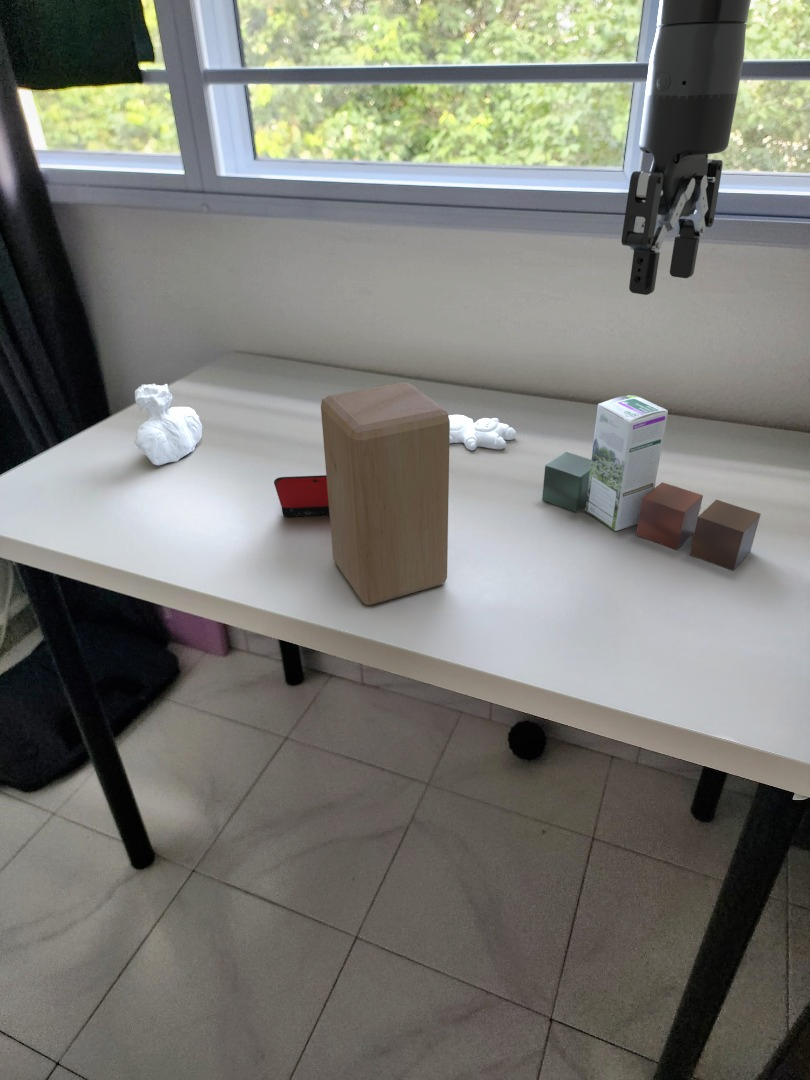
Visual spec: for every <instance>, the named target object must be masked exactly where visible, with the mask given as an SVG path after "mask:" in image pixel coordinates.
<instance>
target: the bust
mask: <svg viewBox="0 0 810 1080" xmlns="http://www.w3.org/2000/svg"><path fill="white" fill-rule="evenodd" d="M168 385H169V384H168V383H164V384H163V385H159V384H156V383H150V384H149V383H148V384H144V383H143V384H141V385H140V386H138V388H137V389H135V390H134V399H135V404H136V405H137V407H138V409H139V411H140V412H142V411H144V410H146V419H145V420H144V421H143V422H142V423H141V424H140V425H139V427H138V428H137V430H136V435H135V439H134V444H135V446H136V447H137V449H138V450H139V451H141V453H143V454H144V455H145V456H146V457H147V458H148V460H149V461H150V462H151V464H153V465H154V466H162V465H165V464H167V463H168V464H169V463H176V462H179V460H180V459H182V458H184V457H185V456H187V455H189V454H190V453H193V452H194V451H195V450H196V445H197V444H199V442H200V441H201V439H202V435H203V424H202V422H201V421H200V416H199V415H198V414H197V413H196V410H195V409H194V408H191V407H189V406H172V407H170V405H171V403H172V400H173V395H172V393H171V392H170V389H169V387H168Z"/></svg>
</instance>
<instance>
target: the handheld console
mask: <svg viewBox="0 0 810 1080" xmlns="http://www.w3.org/2000/svg"><path fill="white" fill-rule="evenodd" d="M273 484H274V485H273V486H274V487H275V492H276V495H277V496H278V501H279V503H280V507H281V513H282V515H283V517H285V518H295V517H313V516H326V515H330V514H329V501H328V489H327V477H326V474H325V475H324V474H322V475H301V476H298V475H297V476H296V475H295V476H280V477H276V478H275V479H274V481H273Z"/></svg>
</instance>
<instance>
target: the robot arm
mask: <svg viewBox="0 0 810 1080" xmlns="http://www.w3.org/2000/svg"><path fill="white" fill-rule="evenodd" d="M751 3H752V0H659V7H658V14H657V22H656V27H657V28H656V29H655V31H656V32H655V36H654V40H653V45H652V49H651V52H650V57H649V62H648V69H647V79H646V86H645V95H644V100H643V101H644V103H643V111H642V119H641V126H640V134H639V141H638V147H639V150H640V151H641V152H642V153H645V154H651V155H652V158H653V159H652V162H651V166H650V169H649V171H644V170H643V171H640V170H639V171H638V170H633V171H632V173H631V175H630V179H629V186H628V192H627V198H626V206H625V213H624V219H623V226H622V234H621V241H620V242H621V245H622V246H626V247H629V248H630V250H632V251H633V254H632V262H631V270H630V278H629V285H628V289H629V291H630V292H631V293H632V294H638V295H643V296H647V295H650V294H652V293H654V291H655V288H656V282H657V275H658V269H659V260H660V255H661V252H660V251H661V247H662V245H663V244H664V241H665V238H666V236H667V234H668V232H670V231H672V230H674V228H675V233H676V235H677V236H675V237H674V241H673V242H674V243H673V248H672V253H671V261H670V267H669V274H670V275H669V276H671V277H672V278H681V279H689V278H690V277H692V276H694V273H695V267H696V261H697V256H698V251H699V244H700V238H702V237H703V236H704V235H705V232H706V228H712V227H713V225H714V222H715V215H716V209H717V204H718V197H719V191H720V185H721V179H722V178H721V177H722V171H723V160H722V159H714V158H713V159H712V158H709V155H712V154H719V153H723V152H724V151H725V150H727V148H728V147H729V144H730V138H731V132H732V125H733V121H734V115H735V110H736V104H737V99H738V93H739V87H740V83H741V75H742V70H743V65H744V60H745V59H744V58H745V47H746V33H747V24H746V23H747V22H748V18H749V12H750V7H751ZM636 222H637V225H636ZM635 225H636V227H635Z"/></svg>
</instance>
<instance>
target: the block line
mask: <svg viewBox="0 0 810 1080" xmlns="http://www.w3.org/2000/svg"><path fill="white" fill-rule="evenodd" d="M590 466H591V458H586V457H584V456H581V455H578V454H575V453H572V452H569V451H565V452H563V453H562V454H560V455H558V456H557V457H556V458H554V459H552V460H551V461H549V462H548V463H546V464H545V466H544V475H543V485H542V486H543V487H542V495H541V496H542V497H541V500H542V501H544V502H546V503H549V504H552V505H554V506H557V507H560V508H562V509H565V510H567V511H571V512H574V513H578V512H579V511H580V510H582V509H583V508H585V507H586V500H587V492H588V484H589V475H590ZM703 495H704V494H701V493H696V492H694V491H691V490H688V489H685V488H681V487H679V486H675V485H673V484H669V483H667V482H663V481H662V482H660V483H659V484H658V485H656V486H655V488H654V489H653V490H652V491H651V492H650V493H648V494H647V495H646V496H645V497H643V499H642V505H641V511H640V516H639V522H638V524H637V528H636V533H635V535H636V536H637V537H641V538H643V539H646V540H649V541H652V542H654V543H658V544H660V545H661V546H665V547H667V548H671V549H672V550H676V551H677V550H679V548H680V547H681V546H682V545H683V544H684V543H685V542H687V540H688V539H689V538H690V537H691V536H692V541H691V545H690V551H689V555H690V556H692V557H695V558H697V559H700V560H703V561H706V562H708V563H711V564H713V565H716V566H719V567H721V568H725V569H728V570H731V571H735V570H736V569H737V568H738V566H739V565H740V564H741V563H742V562H743V561H744V559H745V558H746V557H747V556H748V555H749V554H750V553H751V551H752V547H753V544H754V541H755V537H756V532H757V529H758V525H759V521H760V518H761V516H762V515H761V514H762V513H760V512H756V511H754V510H751V509H747V508H744V507H742V506H738V505H734V504H732V503H728V502H725V501H722V500H719V499H715V500H714V501H713V502H712V503H710V505H708V506H707V508H706V509H704V510H703V511H702V512H701V513H700V511H701V506H702V502H703V497H704V496H703Z"/></svg>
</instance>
